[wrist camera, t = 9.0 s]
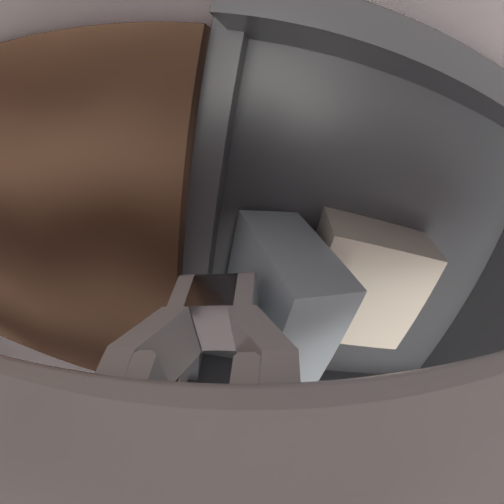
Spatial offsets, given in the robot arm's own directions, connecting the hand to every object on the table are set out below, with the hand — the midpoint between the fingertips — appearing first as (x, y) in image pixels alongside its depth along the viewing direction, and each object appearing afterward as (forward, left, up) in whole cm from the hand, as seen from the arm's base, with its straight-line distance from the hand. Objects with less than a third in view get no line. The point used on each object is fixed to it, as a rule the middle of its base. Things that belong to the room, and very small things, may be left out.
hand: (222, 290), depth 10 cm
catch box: (0, -6, -5) cm, 8 cm away
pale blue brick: (-1, -1, -1) cm, 2 cm away
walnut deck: (0, +9, -5) cm, 10 cm away
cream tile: (-1, -6, -2) cm, 6 cm away
